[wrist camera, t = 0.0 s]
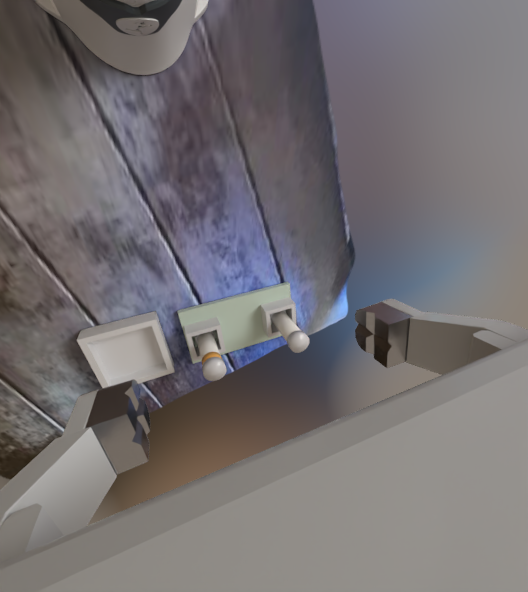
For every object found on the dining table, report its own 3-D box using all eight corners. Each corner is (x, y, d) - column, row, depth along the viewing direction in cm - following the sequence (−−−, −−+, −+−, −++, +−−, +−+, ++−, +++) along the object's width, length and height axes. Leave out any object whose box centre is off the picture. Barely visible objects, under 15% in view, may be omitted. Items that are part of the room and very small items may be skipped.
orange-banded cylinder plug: (192, 329, 51) (201, 366, 42) (211, 324, 52) (224, 359, 43) (196, 344, 53) (206, 383, 44) (215, 339, 54) (227, 376, 45)
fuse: (266, 308, 55) (290, 338, 46) (283, 304, 56) (309, 332, 47) (268, 323, 57) (291, 355, 47) (284, 318, 58) (309, 348, 48)
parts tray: (80, 330, 45) (76, 340, 43) (155, 310, 48) (156, 319, 46) (108, 382, 51) (105, 393, 48) (173, 362, 54) (174, 372, 51)
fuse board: (177, 310, 50) (179, 321, 46) (287, 281, 55) (296, 289, 52) (192, 360, 55) (195, 373, 52) (290, 329, 61) (298, 339, 58)
